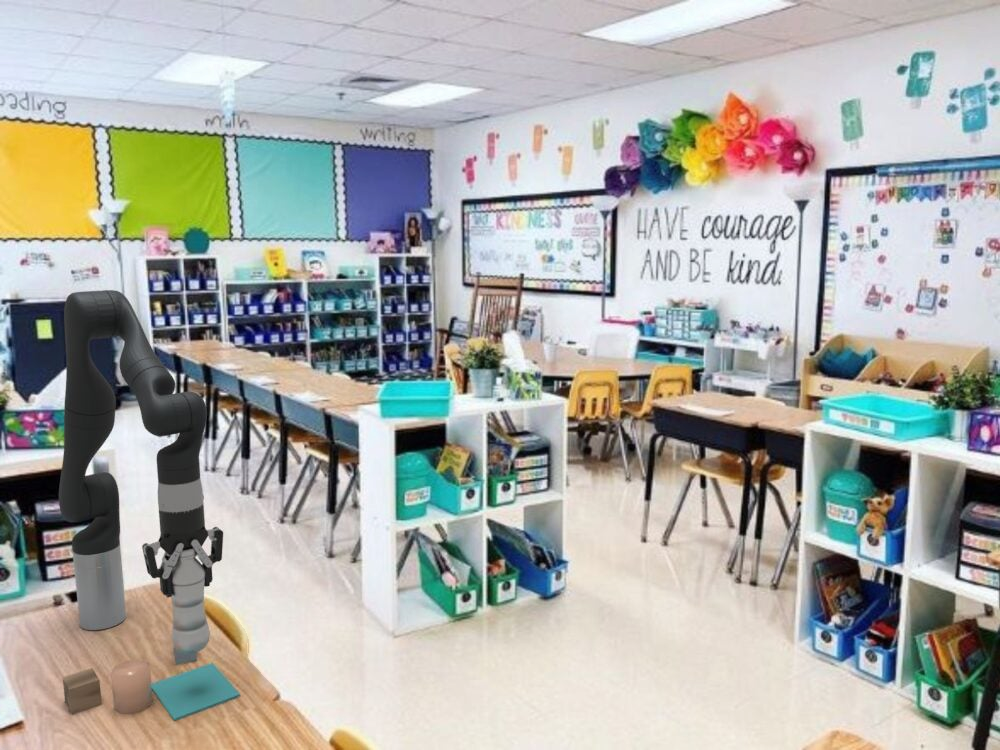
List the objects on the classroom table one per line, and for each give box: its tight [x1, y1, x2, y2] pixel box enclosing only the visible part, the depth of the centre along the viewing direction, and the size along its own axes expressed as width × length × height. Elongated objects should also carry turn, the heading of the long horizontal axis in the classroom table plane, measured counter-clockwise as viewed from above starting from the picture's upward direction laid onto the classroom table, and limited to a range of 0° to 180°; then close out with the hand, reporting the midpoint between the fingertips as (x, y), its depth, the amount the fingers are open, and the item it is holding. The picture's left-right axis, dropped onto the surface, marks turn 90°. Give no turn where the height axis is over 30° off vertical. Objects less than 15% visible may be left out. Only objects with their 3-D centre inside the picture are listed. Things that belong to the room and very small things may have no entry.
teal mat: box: [151, 662, 241, 722], centre depth 150 cm, size 14×12×1 cm
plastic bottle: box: [169, 548, 211, 653], centre depth 147 cm, size 6×7×20 cm
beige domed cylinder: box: [110, 658, 154, 715], centre depth 146 cm, size 6×6×7 cm
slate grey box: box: [173, 647, 198, 666], centre depth 163 cm, size 6×4×4 cm, turn 25°
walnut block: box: [62, 667, 103, 716], centre depth 146 cm, size 5×5×5 cm
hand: (187, 590), depth 147 cm, fingers closed on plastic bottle, 6 cm apart
